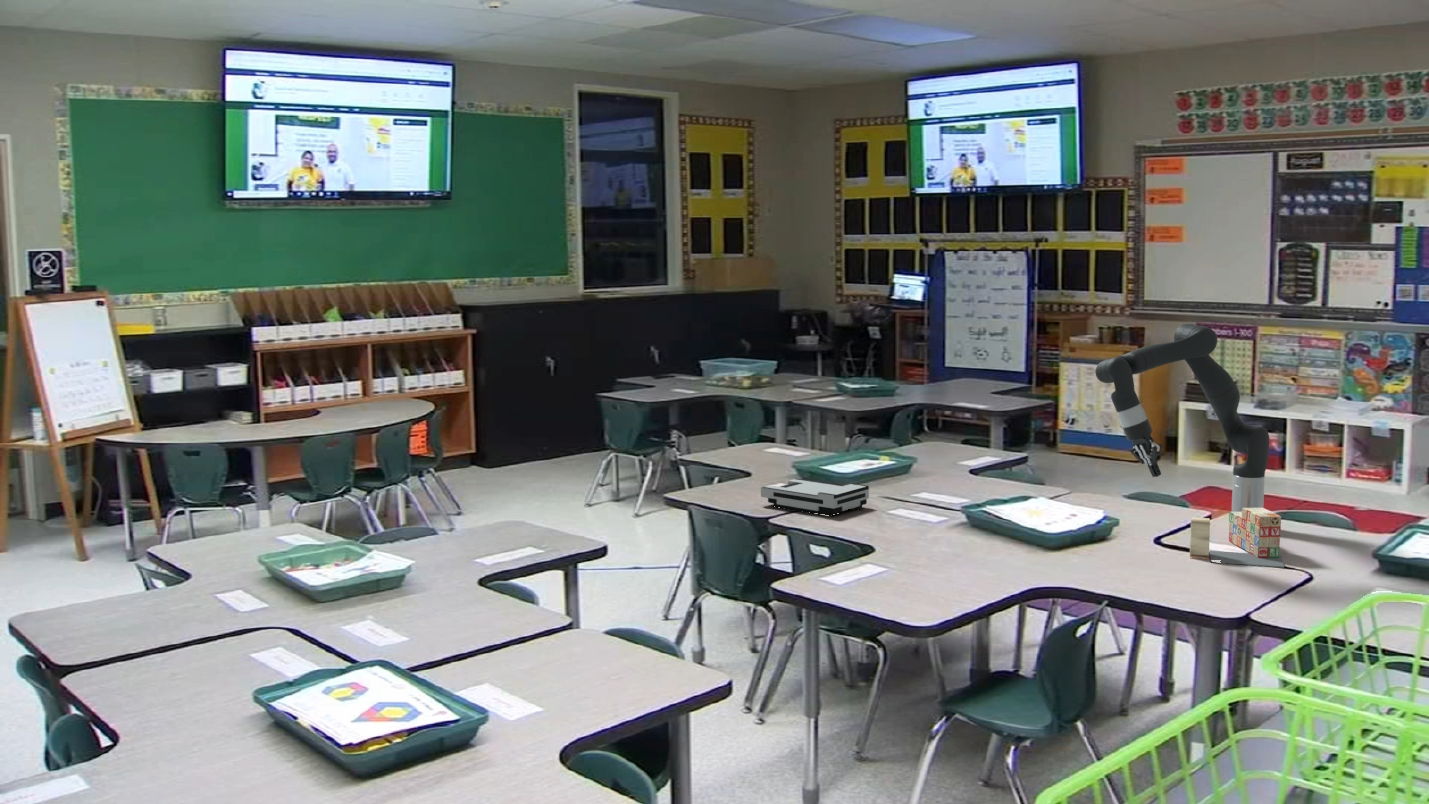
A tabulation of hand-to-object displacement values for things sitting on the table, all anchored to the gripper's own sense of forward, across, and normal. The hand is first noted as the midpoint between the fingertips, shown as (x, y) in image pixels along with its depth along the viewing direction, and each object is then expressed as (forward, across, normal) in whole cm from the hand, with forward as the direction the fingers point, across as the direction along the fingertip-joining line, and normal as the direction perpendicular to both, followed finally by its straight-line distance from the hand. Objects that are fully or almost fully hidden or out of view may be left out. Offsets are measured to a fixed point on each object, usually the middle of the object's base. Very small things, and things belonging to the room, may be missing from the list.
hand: (1157, 475), depth 355 cm
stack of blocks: (+32, -2, -19) cm, 37 cm away
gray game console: (-22, +95, +70) cm, 120 cm away
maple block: (+26, -3, 0) cm, 26 cm away
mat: (+31, -10, -9) cm, 34 cm away
